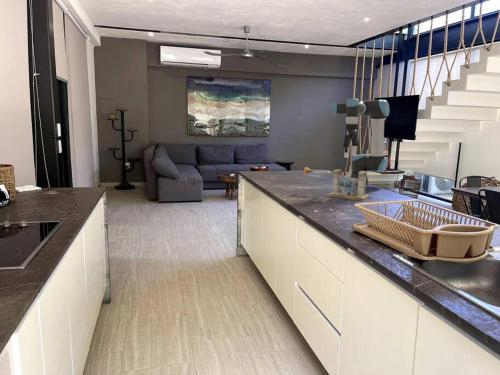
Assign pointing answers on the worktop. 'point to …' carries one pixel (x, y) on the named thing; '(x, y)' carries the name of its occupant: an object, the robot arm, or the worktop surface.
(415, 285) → the worktop surface
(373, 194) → the worktop surface
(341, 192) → the light bulb box
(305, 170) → the lock shaft
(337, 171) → the cradle
